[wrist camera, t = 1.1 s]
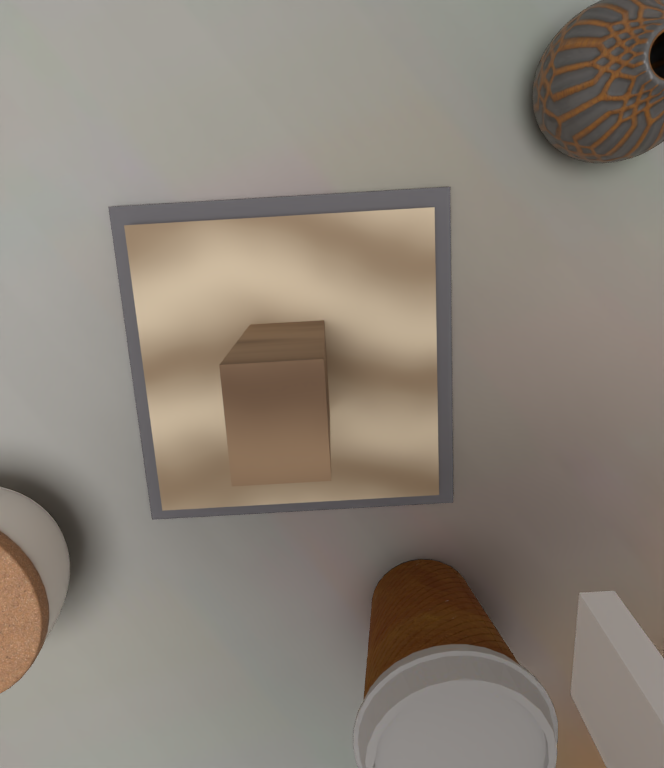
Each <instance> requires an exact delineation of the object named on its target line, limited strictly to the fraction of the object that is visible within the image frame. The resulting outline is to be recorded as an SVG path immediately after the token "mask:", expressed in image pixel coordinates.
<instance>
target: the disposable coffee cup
mask: <svg viewBox="0 0 664 768" xmlns="http://www.w3.org/2000/svg"><path fill="white" fill-rule="evenodd" d="M557 742H558V721H557V717H556V713H555V710H554V706H553V704H552V702H551V700H550V698H549V696H548V694H547V692H546V690H545V689H544V688H543V686H542V685H541V684H540V683H539V681H538V680H537V679H536V678H535V677H534V676H533V675H532V674H531V673H530V672H528V671H527V670H526V669H525V668H523V667H522V666H521V665H519V663H518V662H517V660H516V659H515V657H514V655H513V654H512V653H511V651H510V649H509V647H508V646H507V645H506V643H505V642H504V640H503V639H502V637H501V635H500V634H499V632H498V631H497V629H496V628H495V626H494V625H493V623H492V622H491V620H490V619H489V617H488V615H487V614H486V613H485V611H484V609H483V608H482V606H481V605H480V603H479V602H478V600H477V599H476V597H475V596H474V594H473V593H472V591H471V589H470V588H469V586H468V585H467V583H466V581H465V580H464V578H463V577H462V576H461V575H460V574H459V573H458V572H457V571H456V570H455V569H453V568H452V567H450V566H448V565H446V564H443V563H441V562H438V561H434V560H422V559H421V560H415V561H409V562H406V563H403V564H400V565H398V566H397V567H395V568H393V569H392V570H390V571H389V572H388V573H387V574H385V575H384V577H383V578H382V579H381V580H380V581H379V583H378V585H377V586H376V588H375V591H374V594H373V598H372V609H371V620H370V632H369V643H368V657H367V668H366V678H365V691H364V700H363V703H362V705H361V707H360V708H359V710H358V714H357V718H356V722H355V726H354V730H353V749H354V754H355V758H356V763H357V765H358V767H359V768H555V767H556V759H557V747H556V745H557Z"/></svg>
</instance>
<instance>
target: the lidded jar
mask: <svg viewBox="0 0 664 768" xmlns="http://www.w3.org/2000/svg"><path fill="white" fill-rule="evenodd" d="M69 579H70V557H69V552H68V548H67V544H66V542H65V539H64V537H63V534H62V532H61V530H60V528H59V527H58V525H57V523H56V522H55V520H54V519H53V518H52V517H51V515H50V514H49V513H48V512H47V511H46V510H45V509H44V508H43V507H41V506H40V505H39V504H38V503H36V502H35V501H33V500H32V499H30V498H29V497H27V496H25V495H23V494H21V493H19V492H16V491H13V490H10V489H7V488H3V487H0V693H2V692H4V691H5V690H7V689H9V688H10V687H11V686H13V685H14V684H15V683H16V682H17V681H19V680H20V679H21V678H22V677H23V675H24V674H25V673H26V672H27V670H28V669H29V668H30V667H31V665H32V664H33V662H34V661H35V659H36V657H37V656H38V654H39V652H40V650H41V648H42V646H43V644H44V642H45V640H46V638H47V637H48V635H49V633H50V632H51V630H52V628H53V626H54V624H55V623H56V621H57V619H58V616H59V614H60V612H61V610H62V607H63V604H64V601H65V598H66V594H67V591H68V587H69Z"/></svg>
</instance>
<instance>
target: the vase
mask: <svg viewBox="0 0 664 768" xmlns="http://www.w3.org/2000/svg"><path fill="white" fill-rule="evenodd" d="M533 108H534V113H535V117H536V120H537V123H538V125H539V127H540V129H541V131H542V133H543V134H544V136H545V137H546V138H547V140H548V141H549V142H550V143H551V144H552V145H553V146H554V147H555V148H557V149H558V150H559V151H561V152H562V153H564V154H566V155H568V156H570V157H572V158H575V159H578V160H581V161H585V162H591V163H609V162H617V161H622V160H626V159H629V158H633V157H636V156H638V155H641V154H643V153H645V152H647V151H649V150H650V149H652V148H654V147H656V146H657V145H659V144H660V143H661V142H663V141H664V0H601V1H599V2H597V3H595V4H593V5H591V6H589V7H587V8H586V9H584V10H583V11H582V12H580V13H579V14H577V15H576V16H575V17H574V18H572V19H571V20H570V21H569V22H568V23H567V24H566V25H565V26H564V27H563V28H562V29H561V30H560V31H559V32H558V33H557V35H556V36H555V37H554V38H553V39H552V41H551V42H550V44H549V45H548V47H547V48H546V50H545V52H544V54H543V56H542V58H541V60H540V63H539V65H538V68H537V71H536V75H535V79H534V85H533Z"/></svg>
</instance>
